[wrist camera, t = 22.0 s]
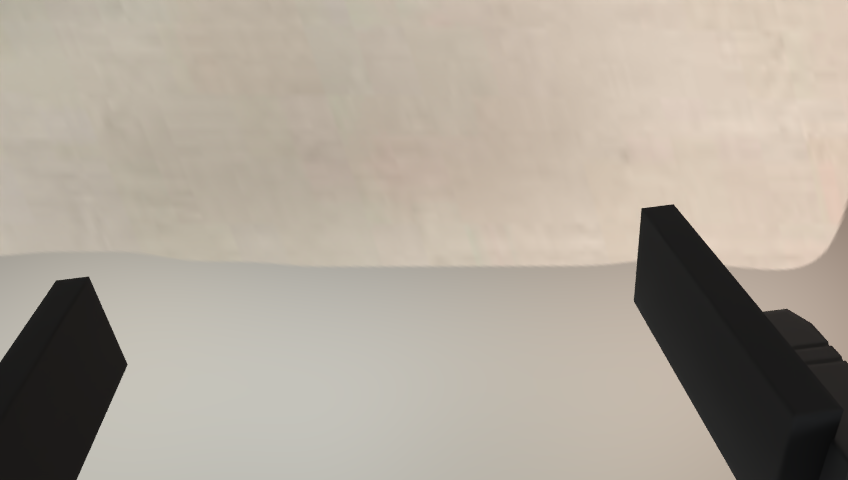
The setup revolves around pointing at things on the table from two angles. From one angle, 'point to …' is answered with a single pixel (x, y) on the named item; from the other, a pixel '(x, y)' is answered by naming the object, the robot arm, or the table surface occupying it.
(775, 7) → the table surface
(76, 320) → the robot arm
